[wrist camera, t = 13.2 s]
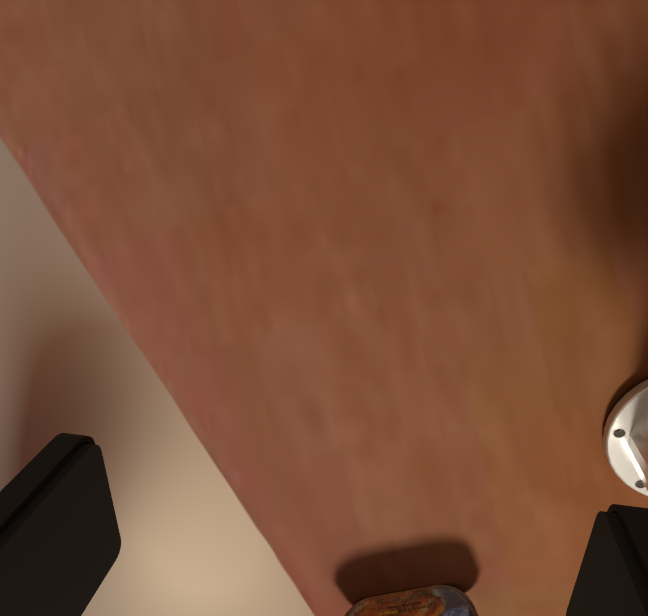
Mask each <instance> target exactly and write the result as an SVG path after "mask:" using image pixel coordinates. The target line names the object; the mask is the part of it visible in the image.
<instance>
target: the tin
mask: <svg viewBox="0 0 648 616" xmlns="http://www.w3.org/2000/svg"><path fill="white" fill-rule="evenodd" d="M345 616H478V614H477V611H476V609H475V606H474V605H473V603H472V601H471V600H470V599H469V597H468V596H467V595H466V594H465V593H463V592H462V591H461V590H459V589H457V588H455V587H452V586H449V585H440V584H439V585H431V586H427V587H421V588H416V589H411V590H405V591H400V592H394V593H388V594H383V595H377V596H372V597H368V598H365V599H363V600H361V601H360V602H358V603H357V604H355V605H354V606H353V607H352V608H351V609H350V610H349V611H348V612H347V613H346V614H345Z"/></svg>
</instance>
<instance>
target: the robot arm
mask: <svg viewBox="0 0 648 616" xmlns="http://www.w3.org/2000/svg"><path fill="white" fill-rule="evenodd" d="M603 444H604V450H605V453H606V456H607V458H608V460H609V463H610V465H611V466H612V468H613V470H614V471H615V473H616V475H617V476H618V477H619V478H620V479H621V480H622V481H623V482H624V483H625V484H627V485H628V486H629V487H631V488H632V489H634V490H635V491H637V492H640V493H642V494H644V495H646V496H648V379H647V380H645V381H643V382H642V383H640V384H638V385H637V386H635V387H634V388H633V389H631V390H630V391H629V392H627V393H626V394H625V395H624V396H623V397H622V398H621V399H620V401H619V402H618V403H617V404H616V405H615V407H614V408H613V410H612V411H611V413H610V414H609V416H608V419H607V422H606V424H605V427H604V434H603ZM120 547H121V538H120V533H119V529H118V524H117V520H116V515H115V510H114V506H113V501H112V498H111V492H110V488H109V483H108V479H107V474H106V470H105V465H104V460H103V456H102V451H101V448H100V447H99V446H98V445H95V442H94V440H93V439H92V438H91V437H89V436H83V435H76V434H68V433H61V434H59V435H57V436H56V437H54V438H53V439H52V441H50V442H49V443H48V444H47V446H45V447H44V448H43V450H41V451H40V452H39V453H38V455H36V456H35V457H34V458H33V460H31V462H29V464H27V465H26V466H25V468H23V469H22V471H21V472H20V473H19V474H17V476H15V477H14V479H12V480H11V481H10V482H9V483H8V485H6V486H5V487H4V489H2V490H1V492H0V616H81V615H82V613H83V612H84V610H85V609H86V607H87V605H88V604H89V602H90V601H91V599H92V597H93V596H94V594H95V593H96V591H97V589H98V588H99V586H100V584H101V583H102V581H103V580H104V578H105V577H106V575H107V573H108V572H109V570H110V568H111V567H112V565H113V564H114V562H115V561H116V559H117V557H118V554H119V551H120ZM566 616H648V508H640V507H632V506H624V505H617V504H612V505H611V506H610V507H609V509H608V511H607V512H603V511H600V512H599V513H598V514H597V516H596V519H595V523H594V526H593V529H592V532H591V535H590V538H589V542H588V545H587V548H586V551H585V554H584V558H583V561H582V564H581V567H580V570H579V573H578V577H577V580H576V583H575V586H574V589H573V593H572V596H571V599H570V602H569V605H568V608H567V612H566Z"/></svg>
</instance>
